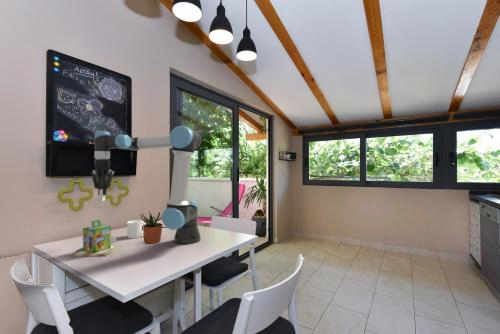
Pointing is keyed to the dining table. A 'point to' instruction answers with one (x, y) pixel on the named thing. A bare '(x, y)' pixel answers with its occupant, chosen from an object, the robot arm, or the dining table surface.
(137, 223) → the mug
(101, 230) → the chalk box
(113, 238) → the button base
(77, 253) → the clipboard
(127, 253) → the dining table surface
